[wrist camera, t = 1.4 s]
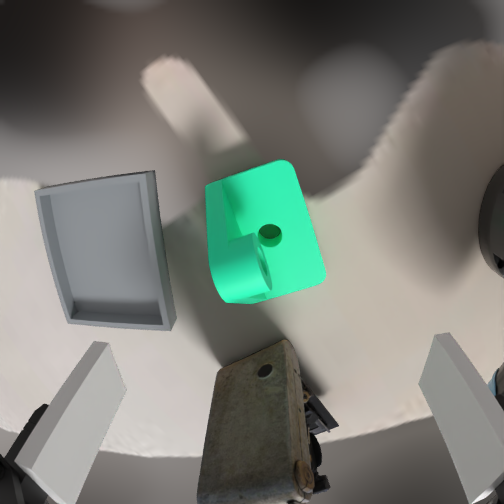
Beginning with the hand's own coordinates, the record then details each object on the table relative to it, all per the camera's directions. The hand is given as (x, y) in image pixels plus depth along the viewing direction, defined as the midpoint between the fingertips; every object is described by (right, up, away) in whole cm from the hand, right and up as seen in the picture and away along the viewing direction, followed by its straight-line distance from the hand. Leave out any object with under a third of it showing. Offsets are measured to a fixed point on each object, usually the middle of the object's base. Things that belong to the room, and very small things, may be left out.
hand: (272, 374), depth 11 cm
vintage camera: (+3, -12, +26) cm, 29 cm away
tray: (-17, +5, +21) cm, 27 cm away
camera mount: (+1, +7, +19) cm, 20 cm away
